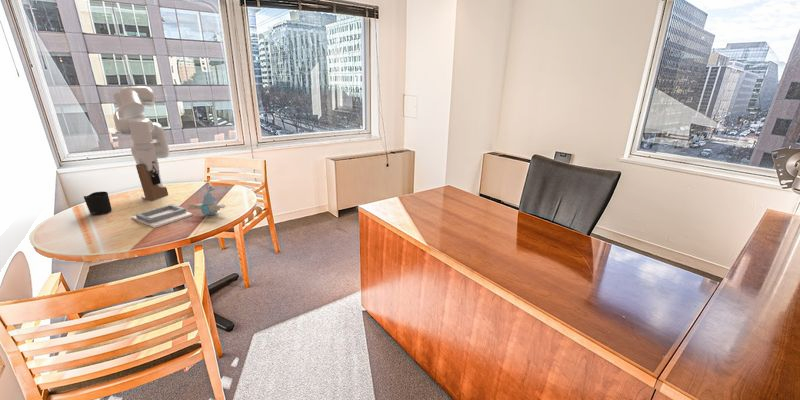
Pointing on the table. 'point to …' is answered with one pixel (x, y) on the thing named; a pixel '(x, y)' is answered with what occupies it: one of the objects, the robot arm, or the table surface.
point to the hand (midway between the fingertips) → (153, 182)
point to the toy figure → (208, 203)
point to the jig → (162, 215)
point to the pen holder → (98, 203)
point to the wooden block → (150, 185)
